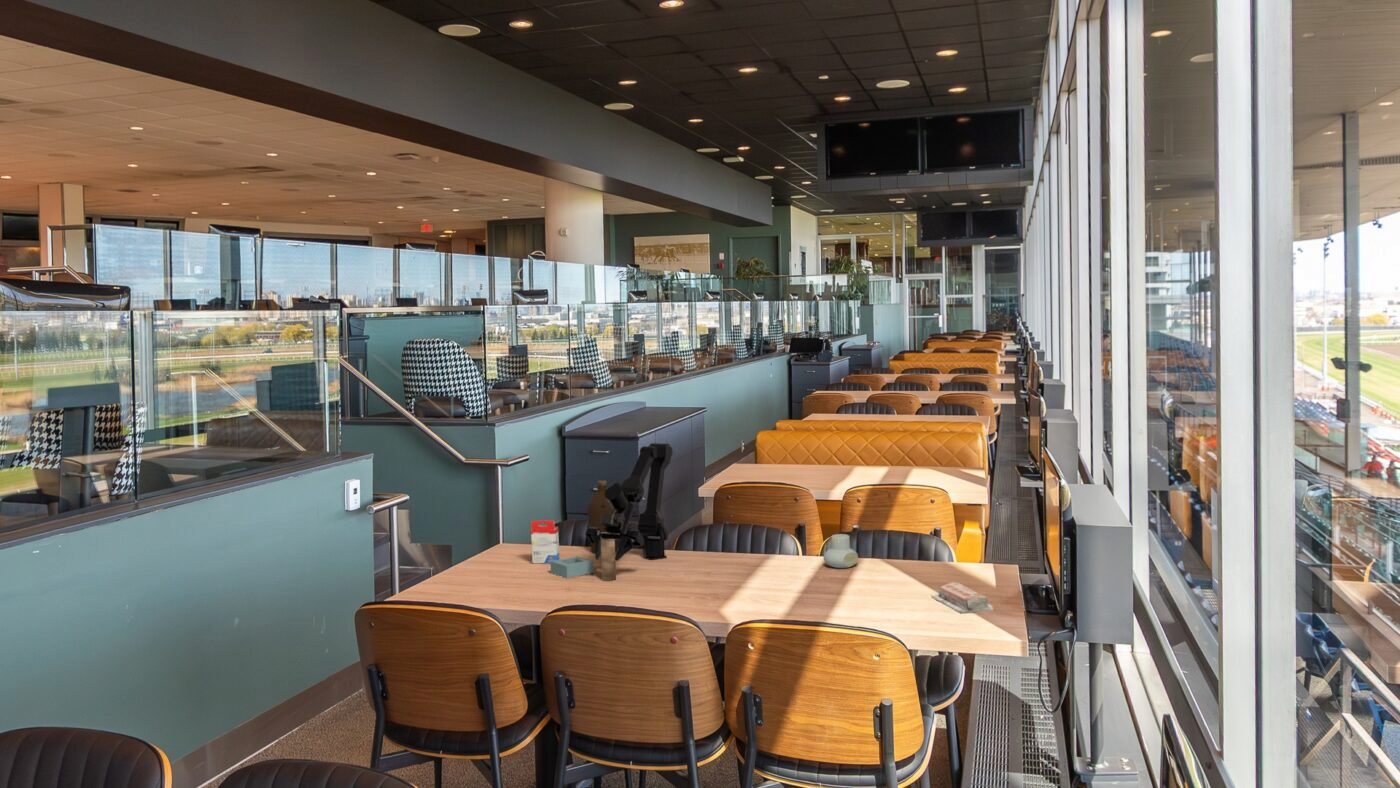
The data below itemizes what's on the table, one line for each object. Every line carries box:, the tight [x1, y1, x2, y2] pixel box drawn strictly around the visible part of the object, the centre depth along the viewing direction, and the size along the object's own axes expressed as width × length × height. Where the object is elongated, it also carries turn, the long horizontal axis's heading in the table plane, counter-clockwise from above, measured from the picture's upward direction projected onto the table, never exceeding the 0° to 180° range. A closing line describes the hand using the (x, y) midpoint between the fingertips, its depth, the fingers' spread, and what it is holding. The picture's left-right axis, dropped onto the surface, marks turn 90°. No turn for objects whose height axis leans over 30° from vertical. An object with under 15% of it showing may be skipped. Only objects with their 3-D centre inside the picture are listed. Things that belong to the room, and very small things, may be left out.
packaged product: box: [931, 581, 994, 615], centre depth 293 cm, size 18×5×10 cm
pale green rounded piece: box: [823, 533, 859, 569], centre depth 342 cm, size 11×8×10 cm
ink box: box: [530, 520, 561, 564], centre depth 360 cm, size 8×5×15 cm, turn 84°
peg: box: [600, 539, 617, 582], centre depth 333 cm, size 4×4×12 cm
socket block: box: [550, 556, 595, 579], centre depth 343 cm, size 10×10×4 cm
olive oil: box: [587, 479, 619, 554], centre depth 375 cm, size 11×11×25 cm
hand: (606, 559), depth 331 cm, fingers open, 7 cm apart
